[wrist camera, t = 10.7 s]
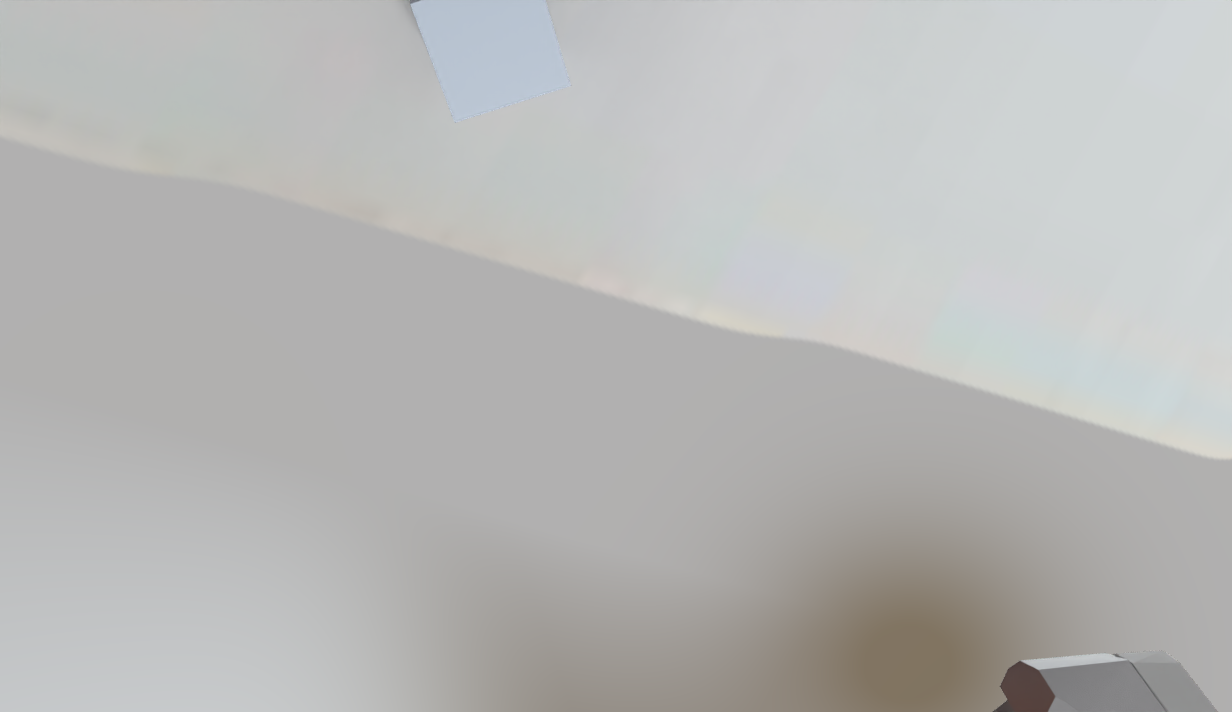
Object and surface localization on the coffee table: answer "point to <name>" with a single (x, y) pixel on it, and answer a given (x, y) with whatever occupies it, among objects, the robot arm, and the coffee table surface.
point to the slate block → (490, 52)
